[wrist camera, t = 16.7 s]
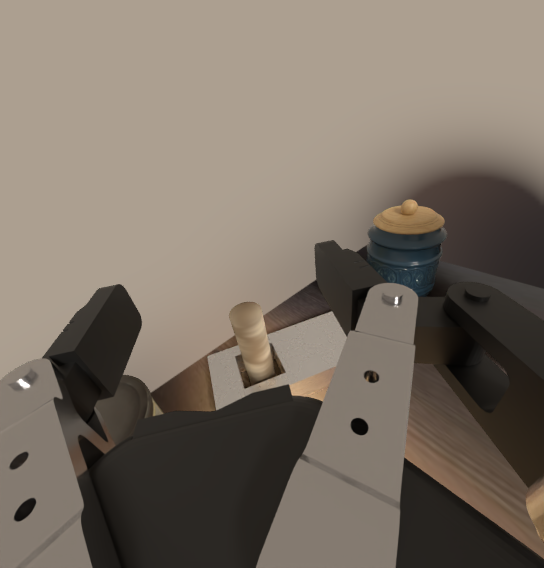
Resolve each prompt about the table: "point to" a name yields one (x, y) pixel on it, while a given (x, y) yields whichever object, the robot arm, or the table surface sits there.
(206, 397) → the table surface
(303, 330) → the block
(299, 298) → the table surface
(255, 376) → the peg
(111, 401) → the coffee can
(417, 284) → the canister
